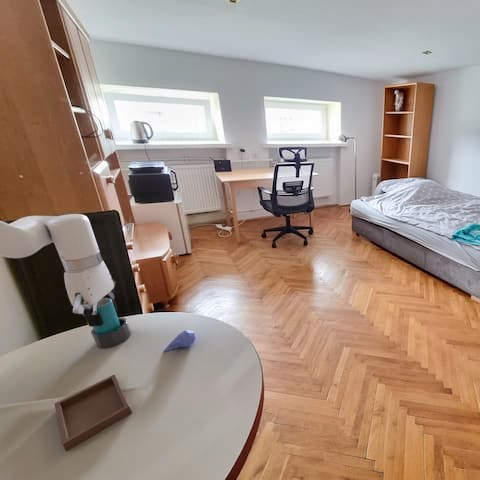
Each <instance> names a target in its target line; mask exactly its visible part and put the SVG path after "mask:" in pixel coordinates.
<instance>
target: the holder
mask: <svg viewBox="0 0 480 480" xmlns="http://www.w3.org/2000/svg"><path fill="white" fill-rule="evenodd" d="M118 319H119V322H120V325H121V327H120V328H118V329H116V330H114V331H112V332H109V333H105V334H95V331H94V328H93V327H92V329H91V331H90V334H91V337H92V339H93V341H94V344H95V346H96V347H97V348H98V349H110V348H114V347H116V346H119V345H120V344H122V343H124V342H126V341H127V340H128V339H130V337H131V335H132V330H131V327H130V325H129V322H128V320H127V318H125V317H118Z"/></svg>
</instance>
